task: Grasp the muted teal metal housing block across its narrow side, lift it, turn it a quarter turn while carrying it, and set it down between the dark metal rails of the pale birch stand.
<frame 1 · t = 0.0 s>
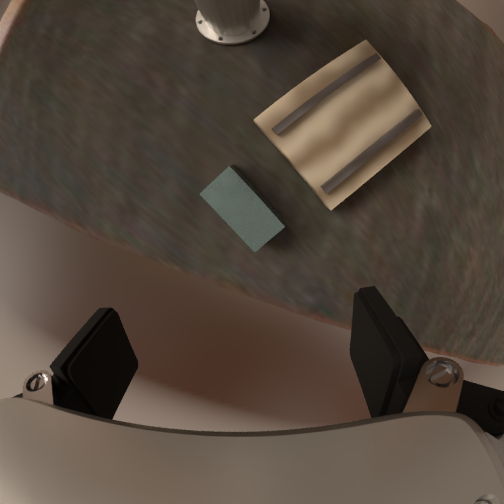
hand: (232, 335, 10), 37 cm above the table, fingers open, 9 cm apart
housing: (245, 203, 46), on the table
stand: (345, 120, 40), on the table
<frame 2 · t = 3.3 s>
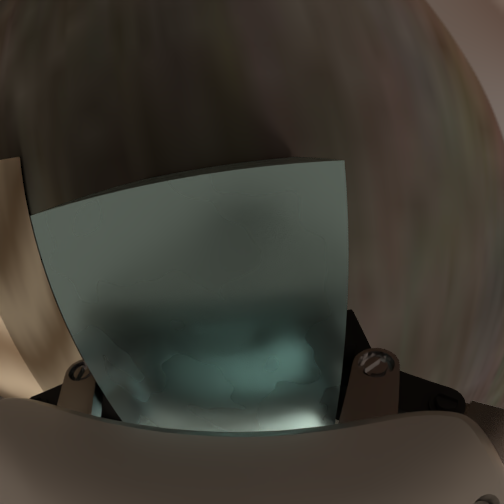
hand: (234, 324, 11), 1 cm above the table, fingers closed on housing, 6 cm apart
housing: (237, 311, 12), on the table, touching gripper
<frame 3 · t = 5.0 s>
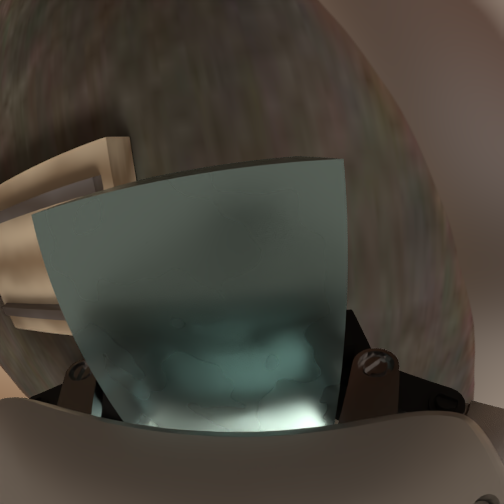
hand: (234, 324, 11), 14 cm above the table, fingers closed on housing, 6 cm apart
housing: (236, 310, 12), point 13 cm above the table, touching gripper
stand: (59, 247, 25), on the table
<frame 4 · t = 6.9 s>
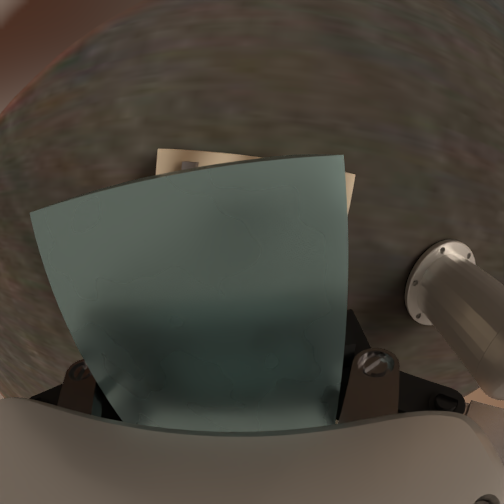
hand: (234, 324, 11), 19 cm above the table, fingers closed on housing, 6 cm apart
housing: (236, 309, 12), point 18 cm above the table, touching gripper
stand: (242, 266, 31), on the table
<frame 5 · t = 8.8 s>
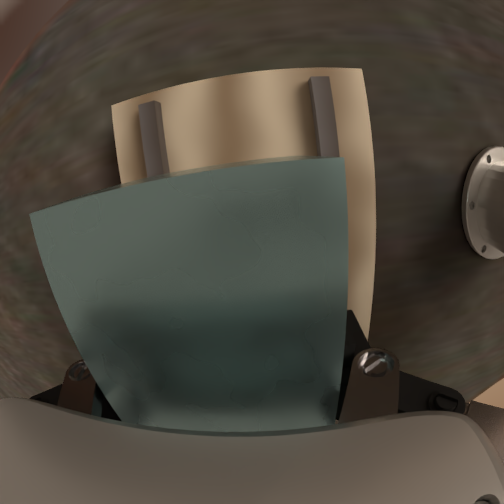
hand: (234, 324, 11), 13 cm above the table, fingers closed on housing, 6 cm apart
housing: (236, 310, 12), point 12 cm above the table, touching gripper
stand: (254, 230, 23), on the table
when the fingers open (6 cm above the table, at t = 10.6 s): housing stays where it is, resting on stand.
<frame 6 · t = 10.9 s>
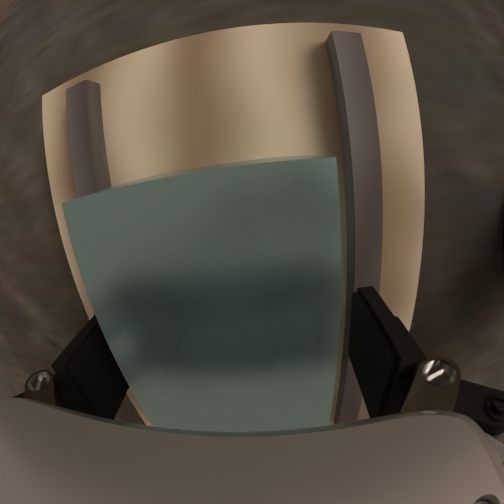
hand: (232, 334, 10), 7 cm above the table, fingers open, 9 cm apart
housing: (241, 298, 13), point 4 cm above the table, touching stand
stand: (244, 264, 16), on the table
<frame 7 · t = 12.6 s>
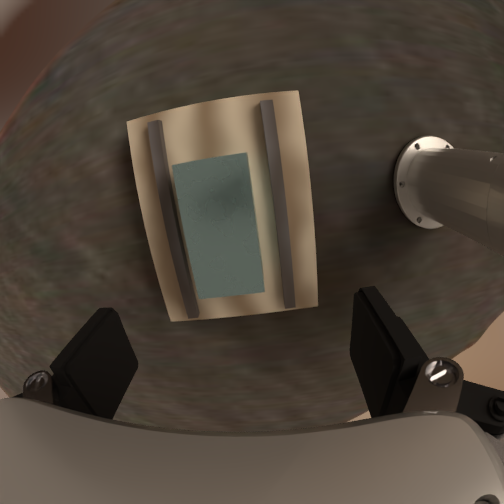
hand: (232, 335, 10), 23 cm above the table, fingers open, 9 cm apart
housing: (226, 215, 28), point 4 cm above the table, touching stand
stand: (228, 208, 32), on the table
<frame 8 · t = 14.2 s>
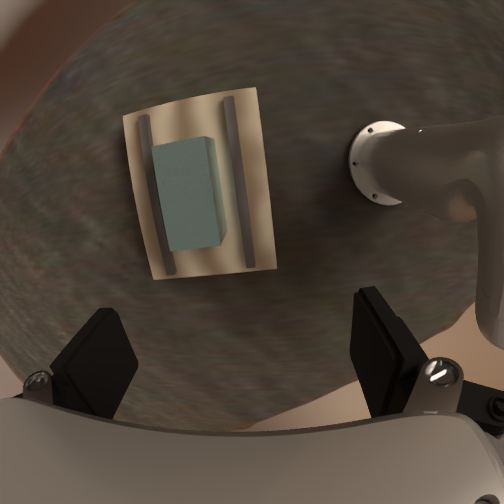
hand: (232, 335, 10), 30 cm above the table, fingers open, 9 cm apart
housing: (197, 188, 34), point 4 cm above the table, touching stand
stand: (203, 185, 38), on the table
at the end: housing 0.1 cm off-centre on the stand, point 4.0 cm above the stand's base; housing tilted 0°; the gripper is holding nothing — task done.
